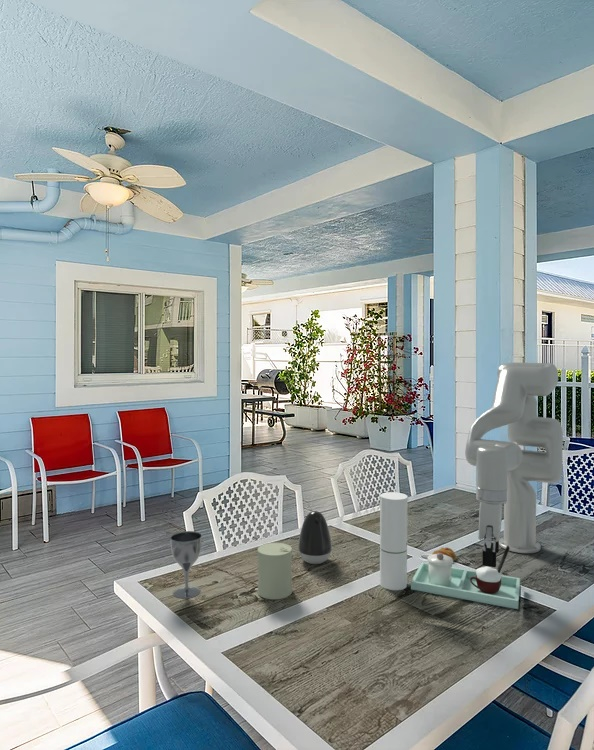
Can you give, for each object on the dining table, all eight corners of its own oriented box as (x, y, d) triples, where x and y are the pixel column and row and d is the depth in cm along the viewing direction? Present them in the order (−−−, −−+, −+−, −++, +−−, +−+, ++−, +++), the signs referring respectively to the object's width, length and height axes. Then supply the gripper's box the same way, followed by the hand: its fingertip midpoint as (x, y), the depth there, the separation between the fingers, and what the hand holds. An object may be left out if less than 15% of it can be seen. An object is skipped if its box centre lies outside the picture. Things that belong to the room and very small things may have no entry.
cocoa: (469, 592, 137) (467, 547, 136) (475, 582, 142) (473, 539, 141) (507, 600, 132) (505, 553, 131) (512, 590, 137) (511, 545, 136)
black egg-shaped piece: (302, 569, 153) (302, 518, 152) (295, 555, 163) (295, 507, 162) (336, 566, 155) (336, 515, 154) (326, 553, 165) (326, 505, 164)
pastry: (444, 571, 152) (444, 558, 152) (423, 565, 156) (423, 552, 156) (458, 561, 159) (458, 549, 159) (438, 556, 163) (438, 544, 163)
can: (284, 602, 133) (284, 555, 132) (251, 596, 136) (251, 550, 136) (297, 586, 142) (297, 543, 141) (265, 581, 145) (265, 538, 144)
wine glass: (175, 601, 133) (175, 543, 132) (168, 589, 140) (167, 534, 140) (206, 595, 137) (205, 538, 136) (197, 583, 144) (196, 529, 143)
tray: (421, 572, 151) (421, 562, 151) (519, 589, 140) (519, 578, 140) (410, 592, 138) (411, 581, 138) (518, 613, 127) (518, 601, 127)
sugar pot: (429, 575, 146) (430, 547, 146) (454, 580, 143) (454, 550, 143) (425, 585, 140) (425, 555, 140) (450, 590, 137) (451, 559, 137)
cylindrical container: (408, 584, 143) (409, 493, 142) (404, 595, 136) (405, 500, 135) (382, 580, 146) (382, 491, 144) (377, 591, 139) (378, 498, 138)
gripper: (479, 484, 145) (478, 544, 146) (472, 501, 129) (472, 569, 130) (508, 486, 142) (507, 548, 143) (505, 505, 126) (504, 574, 127)
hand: (490, 558), depth 137 cm, fingers open, 9 cm apart
